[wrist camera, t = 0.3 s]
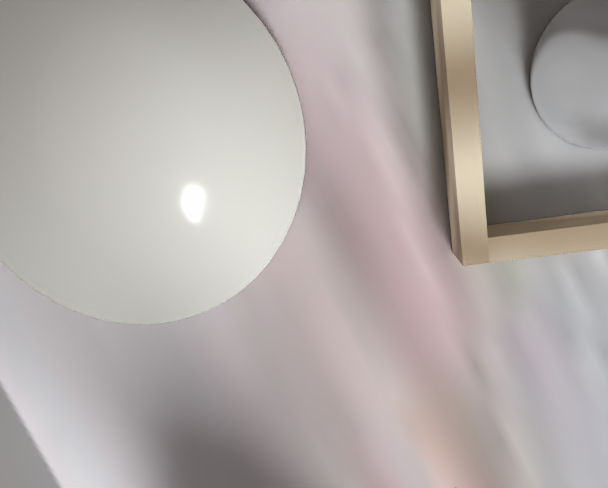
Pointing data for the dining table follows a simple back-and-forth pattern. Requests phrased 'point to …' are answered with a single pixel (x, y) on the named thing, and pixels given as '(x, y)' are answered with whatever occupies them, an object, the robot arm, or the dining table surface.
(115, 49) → the white flat disc
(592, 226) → the beech frame
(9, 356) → the dining table surface
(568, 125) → the steel cup
